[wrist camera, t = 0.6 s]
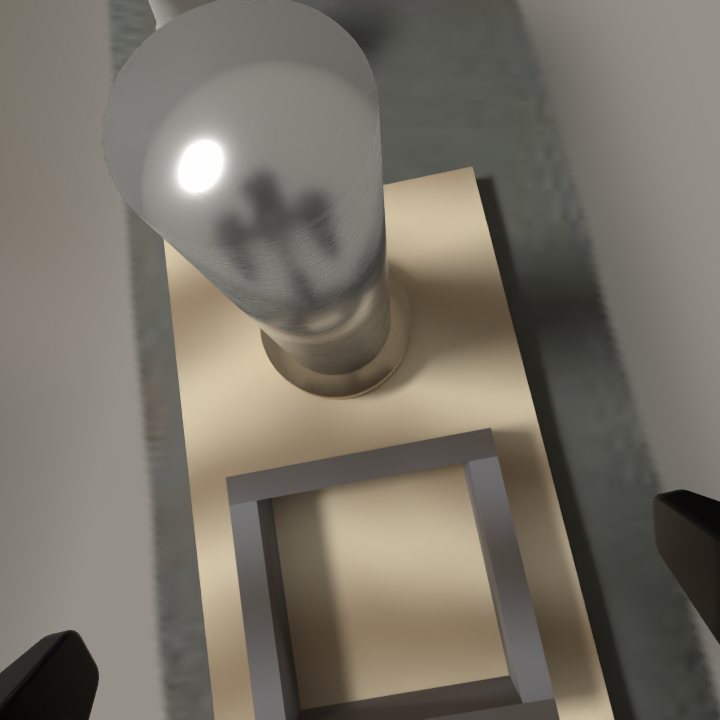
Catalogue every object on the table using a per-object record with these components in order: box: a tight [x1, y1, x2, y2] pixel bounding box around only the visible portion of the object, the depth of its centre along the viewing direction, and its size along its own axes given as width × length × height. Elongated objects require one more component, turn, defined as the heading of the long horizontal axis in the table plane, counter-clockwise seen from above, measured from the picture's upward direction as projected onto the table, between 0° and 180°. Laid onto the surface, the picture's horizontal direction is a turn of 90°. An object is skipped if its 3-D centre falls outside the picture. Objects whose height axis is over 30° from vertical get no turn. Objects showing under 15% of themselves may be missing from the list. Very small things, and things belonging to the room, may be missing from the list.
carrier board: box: [164, 167, 614, 720], centre depth 19 cm, size 24×14×3 cm, turn 10°
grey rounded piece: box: [102, 0, 412, 400], centre depth 14 cm, size 6×6×13 cm
